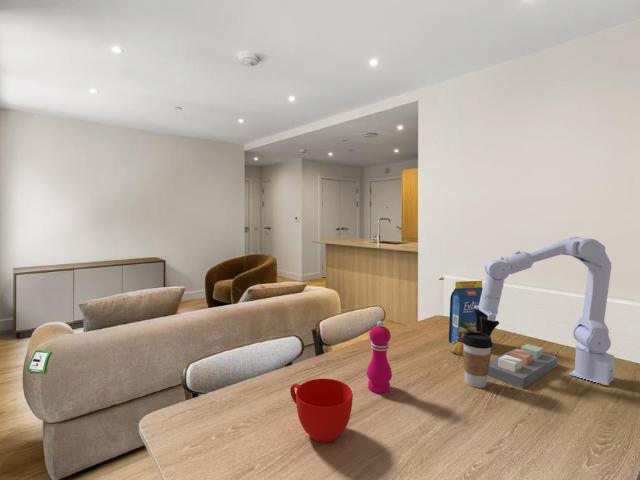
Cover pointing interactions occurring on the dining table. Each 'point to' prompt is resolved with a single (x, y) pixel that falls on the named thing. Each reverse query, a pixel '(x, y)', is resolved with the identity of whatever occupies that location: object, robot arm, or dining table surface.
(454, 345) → the pastry
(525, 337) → the dining table surface
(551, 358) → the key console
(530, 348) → the sage key
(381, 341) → the pepper mill
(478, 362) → the coffee cup
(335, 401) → the ceramic cup
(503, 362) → the offwhite key
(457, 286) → the blue food package
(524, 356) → the terracotta key
